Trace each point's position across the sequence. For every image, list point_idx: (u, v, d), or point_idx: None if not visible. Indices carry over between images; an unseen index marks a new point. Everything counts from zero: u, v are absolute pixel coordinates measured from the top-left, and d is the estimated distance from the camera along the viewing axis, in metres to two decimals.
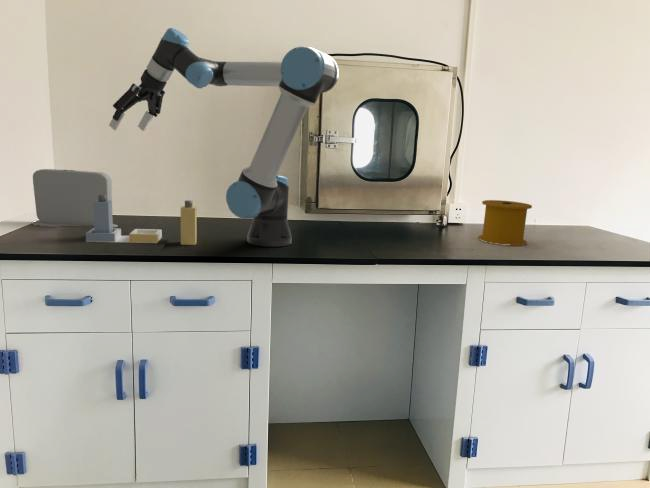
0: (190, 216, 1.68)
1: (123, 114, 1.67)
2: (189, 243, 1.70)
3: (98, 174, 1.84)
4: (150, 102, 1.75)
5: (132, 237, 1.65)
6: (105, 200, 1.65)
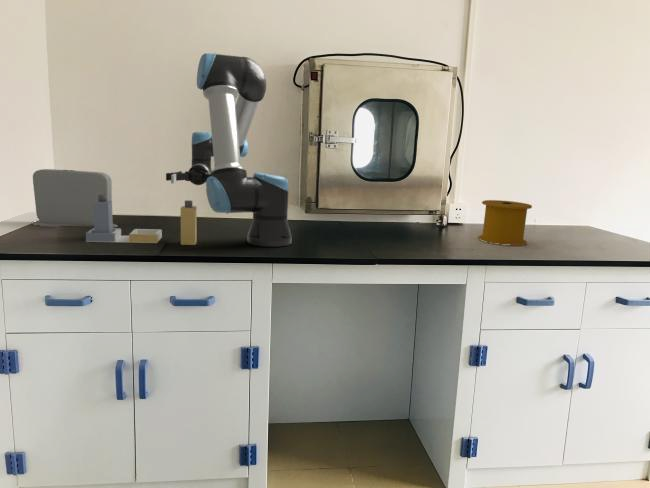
0: (190, 216, 1.68)
1: None
2: (189, 243, 1.70)
3: (98, 174, 1.84)
4: (206, 176, 1.91)
5: (132, 237, 1.65)
6: (105, 200, 1.65)
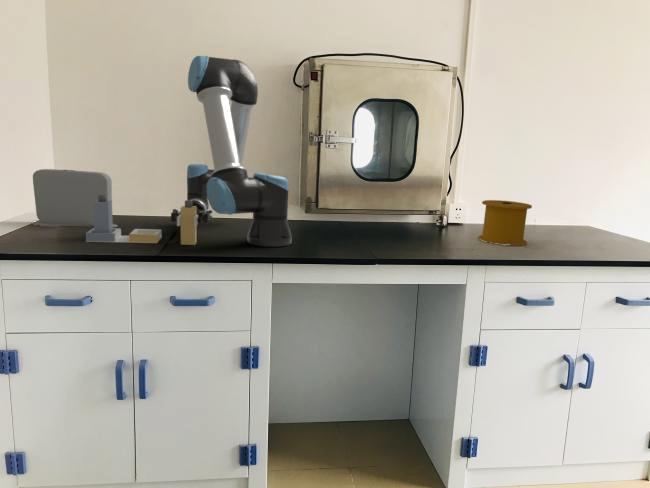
0: (190, 216, 1.68)
1: (180, 214, 1.71)
2: (189, 243, 1.70)
3: (98, 174, 1.84)
4: None
5: (132, 237, 1.65)
6: (105, 200, 1.65)
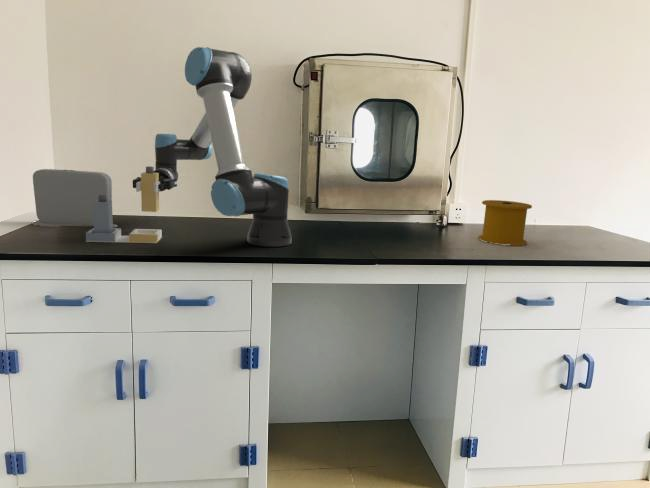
0: (150, 182, 1.65)
1: None
2: (150, 210, 1.67)
3: (98, 174, 1.84)
4: None
5: (132, 237, 1.65)
6: (105, 200, 1.65)
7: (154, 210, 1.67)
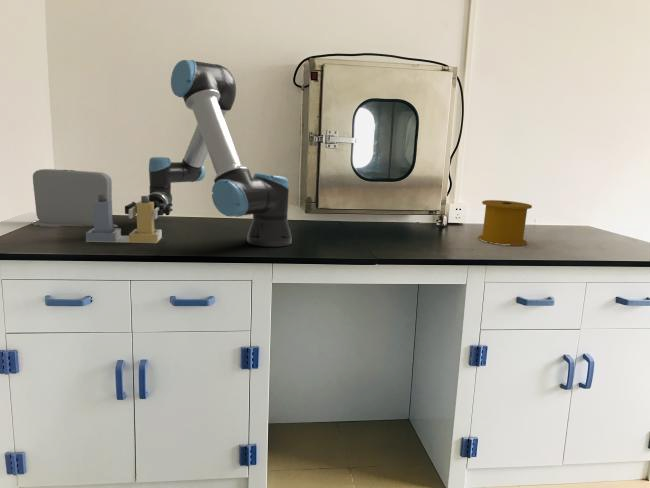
0: (146, 212, 1.66)
1: (133, 206, 1.68)
2: None
3: (98, 174, 1.84)
4: (156, 207, 1.75)
5: (132, 237, 1.65)
6: (105, 200, 1.65)
7: None
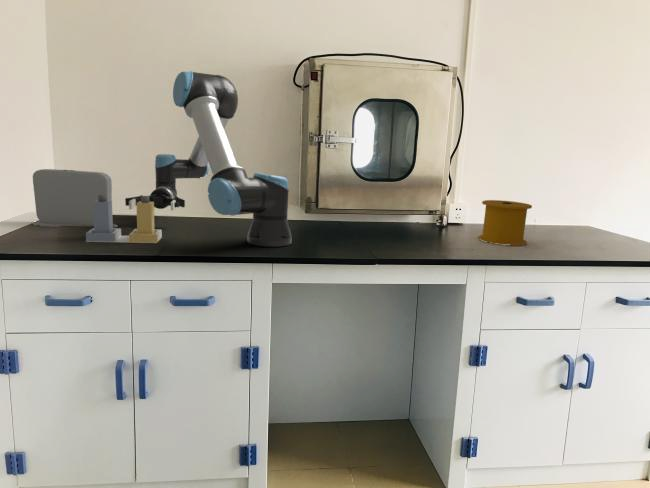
0: (146, 212, 1.66)
1: (133, 198, 1.82)
2: None
3: (98, 174, 1.84)
4: (167, 200, 1.89)
5: (132, 237, 1.65)
6: (105, 200, 1.65)
7: None
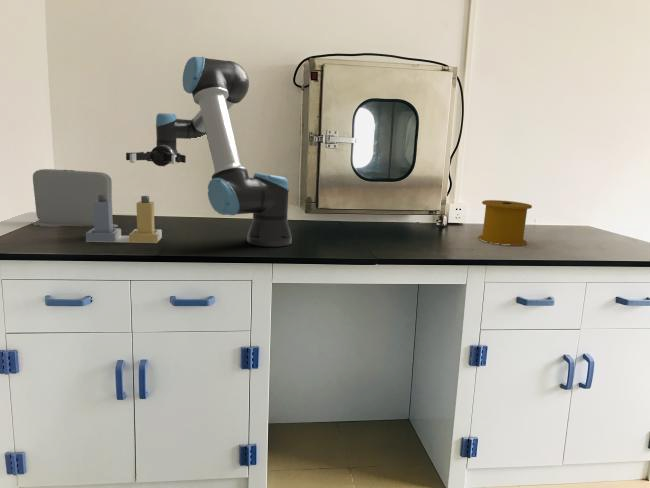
0: (146, 212, 1.66)
1: (134, 153, 1.82)
2: None
3: (98, 174, 1.84)
4: (168, 156, 1.88)
5: (132, 237, 1.65)
6: (105, 200, 1.65)
7: None
